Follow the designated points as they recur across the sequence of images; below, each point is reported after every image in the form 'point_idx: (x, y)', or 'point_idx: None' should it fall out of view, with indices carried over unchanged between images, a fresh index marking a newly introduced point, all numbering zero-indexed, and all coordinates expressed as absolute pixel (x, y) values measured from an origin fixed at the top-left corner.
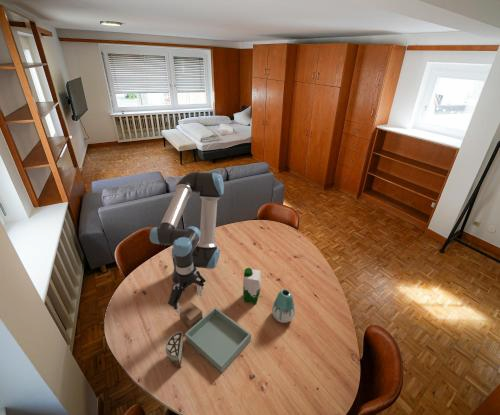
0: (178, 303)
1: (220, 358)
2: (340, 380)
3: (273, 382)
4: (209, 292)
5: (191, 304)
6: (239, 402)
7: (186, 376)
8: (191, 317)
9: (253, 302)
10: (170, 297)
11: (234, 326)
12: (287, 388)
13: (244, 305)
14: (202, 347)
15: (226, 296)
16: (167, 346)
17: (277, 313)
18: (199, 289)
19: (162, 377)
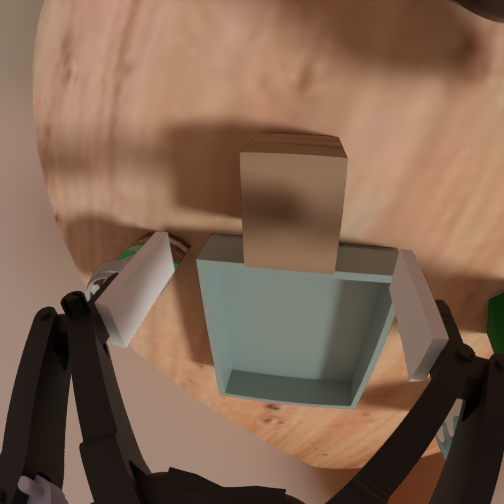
0: (123, 345)
1: (252, 356)
2: (354, 462)
3: (290, 427)
4: (486, 139)
5: (332, 189)
6: (216, 403)
7: (152, 310)
8: (258, 258)
9: (488, 331)
10: (24, 370)
11: (365, 356)
12: (296, 438)
13: (473, 310)
14: (215, 341)
15: (495, 229)
16: (93, 286)
17: (439, 429)
18: (408, 331)
19: (101, 262)
